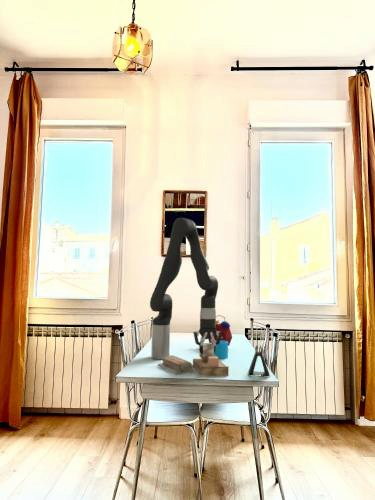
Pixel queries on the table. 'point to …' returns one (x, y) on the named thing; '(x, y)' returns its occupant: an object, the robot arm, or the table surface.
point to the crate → (213, 361)
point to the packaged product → (176, 365)
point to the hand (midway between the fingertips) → (207, 353)
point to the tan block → (207, 351)
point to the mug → (222, 350)
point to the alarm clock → (223, 331)
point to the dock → (209, 368)
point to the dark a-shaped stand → (251, 369)
